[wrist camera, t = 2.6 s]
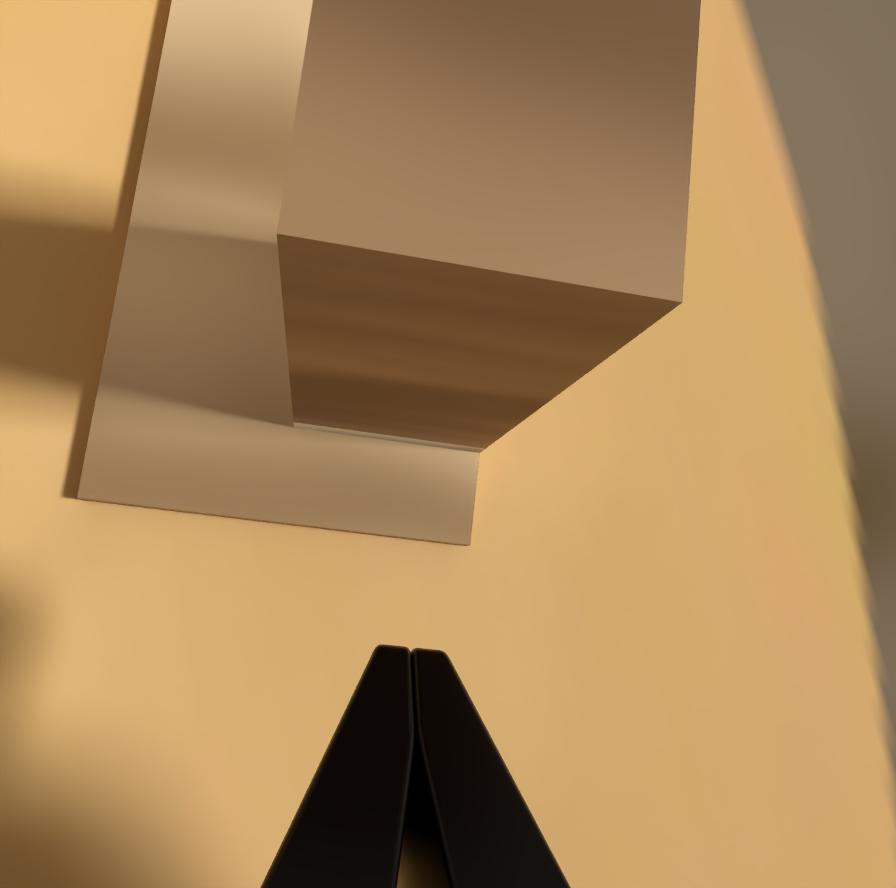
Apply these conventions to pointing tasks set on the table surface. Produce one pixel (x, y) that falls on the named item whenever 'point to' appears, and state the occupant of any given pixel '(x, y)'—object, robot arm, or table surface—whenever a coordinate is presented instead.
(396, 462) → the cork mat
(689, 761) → the table surface
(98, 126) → the table surface
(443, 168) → the walnut block
